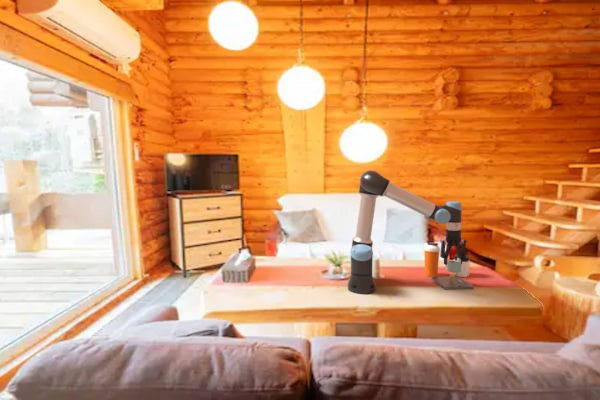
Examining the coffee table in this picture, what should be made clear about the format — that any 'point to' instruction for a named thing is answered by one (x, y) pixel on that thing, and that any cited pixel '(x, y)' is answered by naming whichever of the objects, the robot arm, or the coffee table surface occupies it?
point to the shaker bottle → (431, 259)
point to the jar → (463, 266)
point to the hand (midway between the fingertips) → (452, 269)
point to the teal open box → (454, 266)
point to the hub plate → (452, 283)
